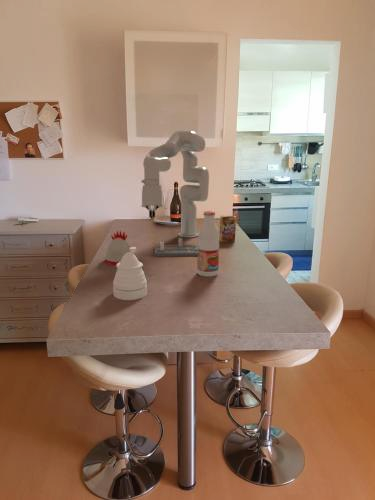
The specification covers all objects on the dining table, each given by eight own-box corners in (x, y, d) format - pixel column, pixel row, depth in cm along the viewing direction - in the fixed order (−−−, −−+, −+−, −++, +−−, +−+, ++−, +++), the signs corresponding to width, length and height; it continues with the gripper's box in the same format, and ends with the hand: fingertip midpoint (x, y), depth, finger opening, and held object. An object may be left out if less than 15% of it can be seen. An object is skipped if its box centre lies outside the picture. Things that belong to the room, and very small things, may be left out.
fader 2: (178, 245, 213) (178, 236, 211) (181, 245, 213) (182, 236, 212) (178, 246, 210) (178, 237, 209) (182, 246, 210) (182, 237, 209)
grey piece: (128, 266, 183) (127, 235, 179) (101, 264, 185) (99, 233, 181) (137, 257, 196) (137, 228, 192) (112, 255, 198) (111, 227, 194)
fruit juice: (203, 269, 180) (204, 209, 172) (221, 272, 175) (224, 211, 168) (193, 274, 172) (194, 212, 164) (212, 278, 167) (214, 214, 160)
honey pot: (131, 285, 159) (130, 242, 154) (153, 292, 151) (153, 248, 146) (106, 294, 149) (104, 249, 144) (129, 302, 141) (127, 255, 136)
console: (154, 247, 214) (154, 243, 213) (197, 247, 216) (197, 243, 215) (154, 256, 199) (154, 251, 198) (200, 255, 200) (201, 251, 200)
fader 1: (160, 249, 205) (160, 240, 204) (164, 249, 205) (164, 239, 204) (160, 250, 203) (160, 241, 201) (164, 250, 203) (164, 241, 202)
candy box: (220, 242, 228) (221, 216, 224) (219, 240, 232) (219, 215, 228) (235, 242, 229) (236, 216, 225) (233, 240, 233) (234, 215, 229)
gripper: (136, 183, 190) (137, 219, 195) (166, 183, 191) (166, 219, 196) (137, 181, 197) (137, 217, 202) (166, 181, 198) (166, 217, 203)
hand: (152, 218), depth 199 cm, fingers closed
